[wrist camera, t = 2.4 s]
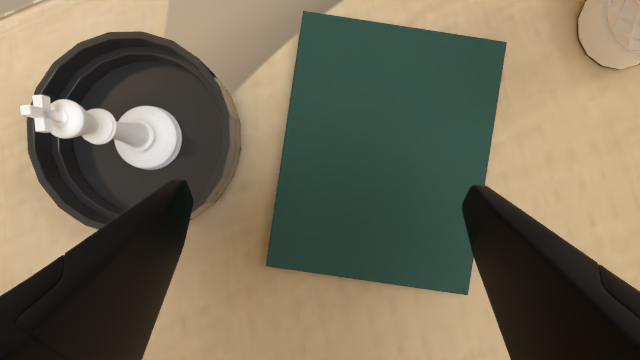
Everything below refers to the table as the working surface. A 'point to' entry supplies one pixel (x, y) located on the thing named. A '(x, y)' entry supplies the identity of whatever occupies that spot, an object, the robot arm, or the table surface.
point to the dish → (117, 98)
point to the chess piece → (112, 129)
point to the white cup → (611, 32)
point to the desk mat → (384, 152)
